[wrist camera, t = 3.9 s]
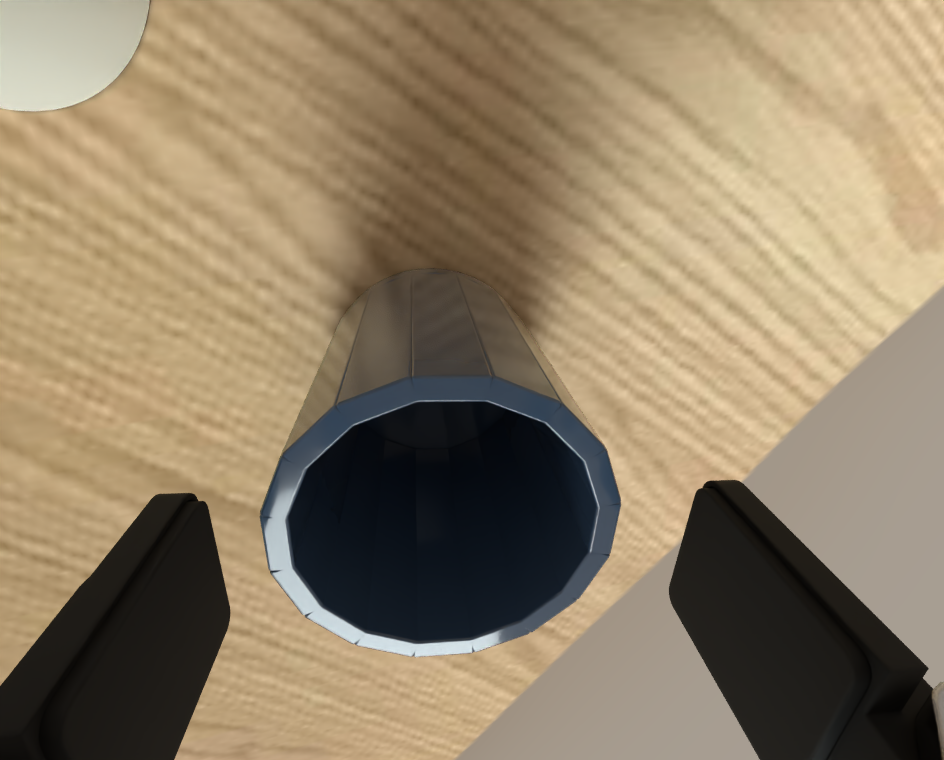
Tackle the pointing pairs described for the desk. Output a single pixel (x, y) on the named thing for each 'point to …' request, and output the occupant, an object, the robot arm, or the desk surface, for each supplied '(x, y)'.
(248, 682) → the desk surface
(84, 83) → the water bottle
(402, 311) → the blue cup
